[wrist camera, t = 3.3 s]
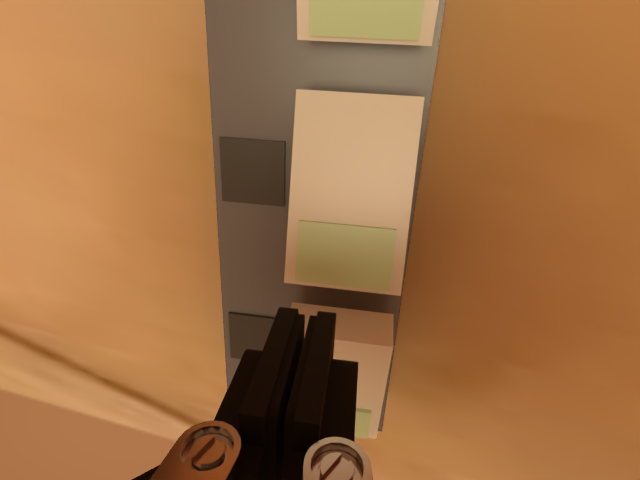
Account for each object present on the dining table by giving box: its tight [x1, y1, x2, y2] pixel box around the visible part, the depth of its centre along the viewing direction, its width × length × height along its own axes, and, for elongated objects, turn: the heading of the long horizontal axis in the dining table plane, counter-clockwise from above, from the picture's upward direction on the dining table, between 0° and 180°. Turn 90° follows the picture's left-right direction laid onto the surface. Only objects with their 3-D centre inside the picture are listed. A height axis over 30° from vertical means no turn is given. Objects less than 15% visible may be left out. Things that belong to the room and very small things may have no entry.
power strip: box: [205, 0, 445, 431], centre depth 20 cm, size 10×40×5 cm, turn 177°
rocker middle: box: [284, 89, 425, 296], centre depth 18 cm, size 5×8×2 cm, turn 177°
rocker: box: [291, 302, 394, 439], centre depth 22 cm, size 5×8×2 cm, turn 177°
